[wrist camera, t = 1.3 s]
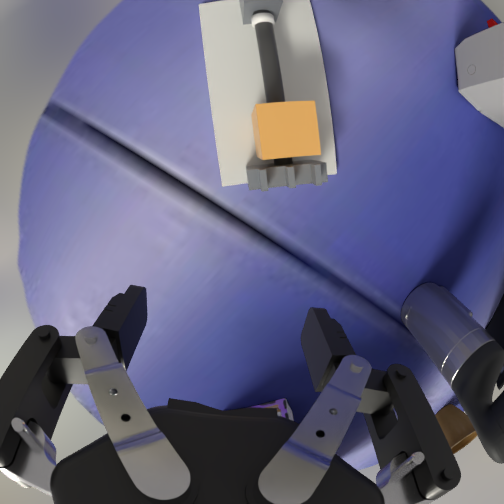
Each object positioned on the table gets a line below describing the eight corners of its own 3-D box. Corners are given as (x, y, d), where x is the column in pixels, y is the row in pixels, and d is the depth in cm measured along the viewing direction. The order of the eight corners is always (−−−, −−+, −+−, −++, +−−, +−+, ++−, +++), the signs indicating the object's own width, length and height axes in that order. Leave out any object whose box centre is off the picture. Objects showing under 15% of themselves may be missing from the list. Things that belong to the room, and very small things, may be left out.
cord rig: (334, 173, 32) (360, 182, 25) (222, 185, 33) (217, 197, 25) (307, 0, 23) (323, -29, 16) (199, 7, 23) (190, -23, 16)
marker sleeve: (301, 152, 30) (321, 154, 22) (256, 156, 30) (262, 160, 23) (296, 111, 28) (314, 100, 21) (251, 114, 28) (255, 104, 21)
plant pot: (463, 389, 56) (485, 422, 41) (457, 408, 62) (475, 439, 47) (425, 414, 58) (444, 451, 43) (423, 430, 63) (439, 463, 49)
